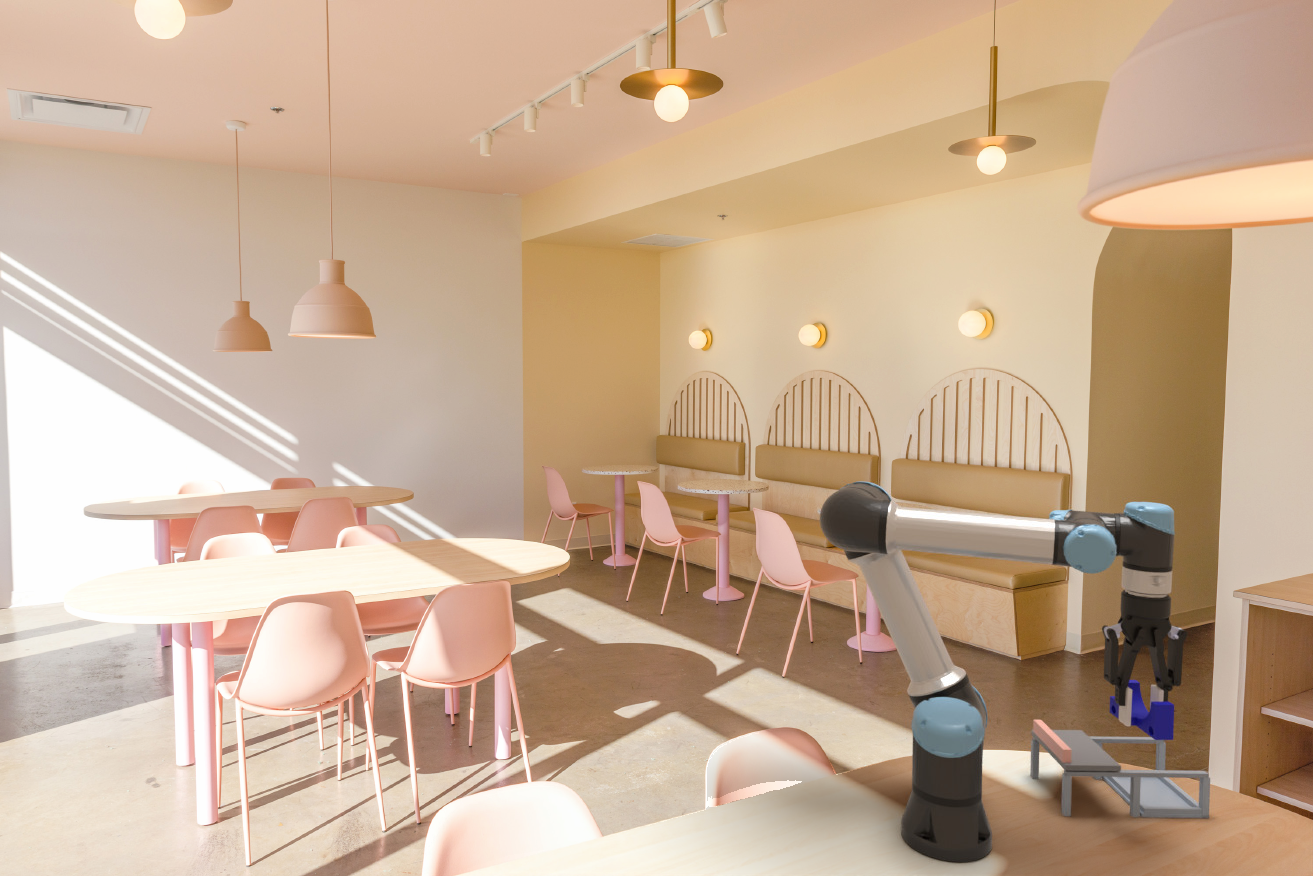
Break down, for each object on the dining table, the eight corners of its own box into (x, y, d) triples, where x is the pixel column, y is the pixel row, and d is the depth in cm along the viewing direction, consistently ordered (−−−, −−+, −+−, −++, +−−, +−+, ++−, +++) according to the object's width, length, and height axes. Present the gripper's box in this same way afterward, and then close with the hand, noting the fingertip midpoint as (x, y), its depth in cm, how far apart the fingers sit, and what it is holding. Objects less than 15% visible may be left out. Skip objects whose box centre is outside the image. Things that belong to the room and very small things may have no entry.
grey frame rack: (1064, 816, 157) (1065, 772, 156) (1030, 775, 173) (1031, 735, 172) (1208, 818, 156) (1210, 773, 155) (1161, 777, 172) (1162, 737, 171)
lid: (1065, 770, 156) (1065, 751, 156) (1031, 734, 172) (1031, 717, 172) (1120, 771, 156) (1121, 752, 156) (1081, 734, 172) (1081, 718, 172)
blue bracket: (1109, 712, 154) (1110, 680, 154) (1134, 712, 154) (1135, 679, 154) (1146, 739, 142) (1146, 704, 142) (1173, 739, 142) (1174, 704, 142)
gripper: (1104, 597, 143) (1098, 731, 145) (1211, 598, 142) (1204, 733, 144) (1083, 586, 151) (1078, 713, 152) (1186, 587, 150) (1179, 716, 152)
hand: (1140, 723), depth 148 cm, fingers closed on blue bracket, 5 cm apart
